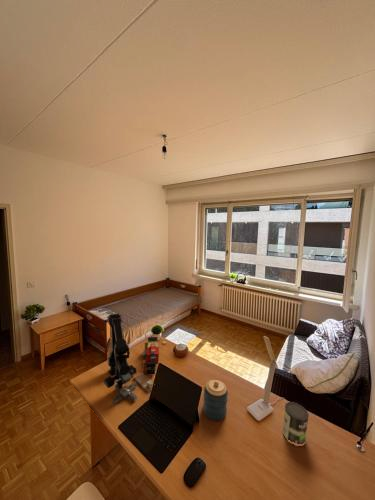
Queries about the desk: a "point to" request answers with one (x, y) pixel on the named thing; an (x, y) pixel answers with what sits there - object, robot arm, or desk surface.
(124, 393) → the capstan
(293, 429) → the coffee can
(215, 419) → the canister
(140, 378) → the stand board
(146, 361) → the toy soldier
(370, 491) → the desk surface
